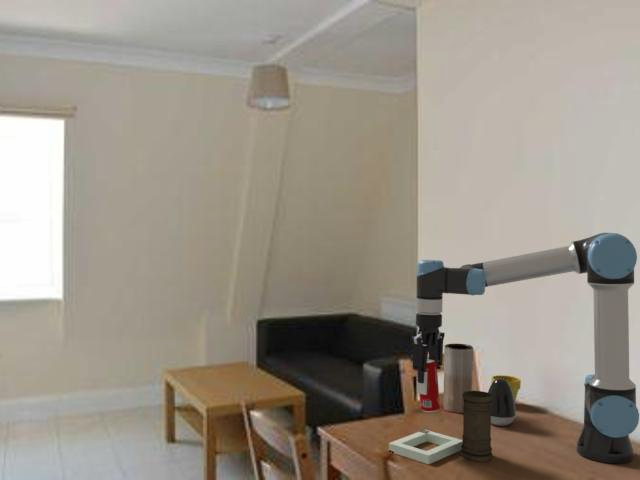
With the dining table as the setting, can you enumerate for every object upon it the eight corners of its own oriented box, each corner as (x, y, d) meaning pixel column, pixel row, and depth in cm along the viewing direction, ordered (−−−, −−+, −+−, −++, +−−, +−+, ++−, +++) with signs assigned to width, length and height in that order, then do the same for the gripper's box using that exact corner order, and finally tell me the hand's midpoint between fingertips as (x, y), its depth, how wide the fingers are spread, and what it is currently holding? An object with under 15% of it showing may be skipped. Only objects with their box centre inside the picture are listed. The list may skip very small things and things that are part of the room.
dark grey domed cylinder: (519, 422, 223) (520, 377, 222) (510, 430, 214) (511, 383, 214) (489, 417, 228) (490, 373, 228) (479, 424, 220) (480, 379, 219)
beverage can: (441, 413, 193) (440, 362, 192) (418, 413, 193) (418, 362, 192) (438, 406, 199) (437, 357, 198) (416, 406, 199) (415, 357, 198)
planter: (477, 409, 238) (478, 346, 237) (462, 415, 230) (463, 350, 230) (452, 403, 245) (454, 342, 244) (437, 409, 237) (439, 345, 236)
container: (486, 464, 184) (488, 400, 184) (455, 457, 189) (457, 395, 189) (496, 454, 192) (498, 393, 191) (466, 448, 197) (467, 388, 196)
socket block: (463, 448, 196) (464, 439, 196) (428, 464, 184) (428, 454, 183) (424, 437, 206) (425, 428, 206) (388, 451, 193) (388, 442, 193)
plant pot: (524, 404, 245) (525, 378, 244) (513, 410, 237) (513, 383, 236) (498, 399, 251) (498, 373, 251) (486, 404, 243) (486, 378, 243)
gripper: (435, 308, 202) (433, 384, 203) (400, 314, 190) (398, 394, 191) (456, 311, 197) (454, 389, 198) (422, 317, 185) (420, 400, 186)
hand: (427, 392), depth 194 cm, fingers open, 4 cm apart
